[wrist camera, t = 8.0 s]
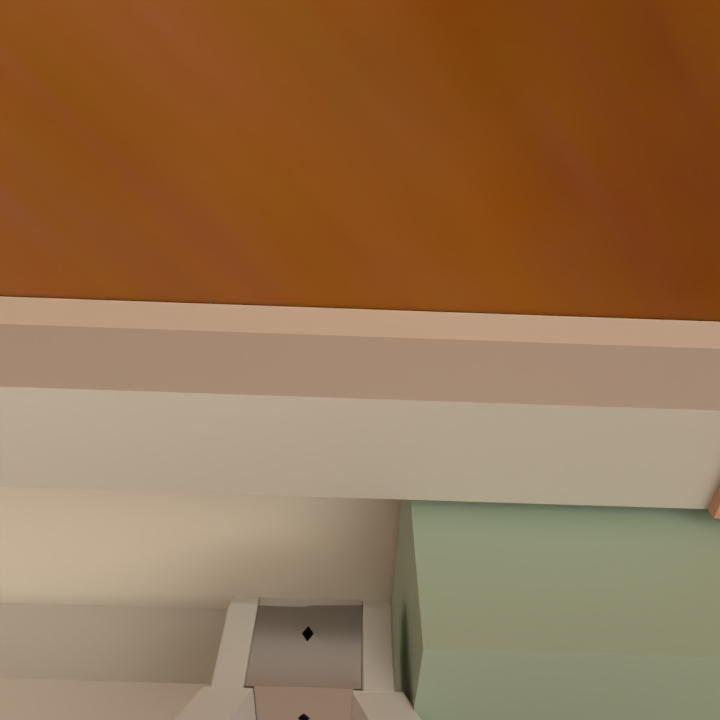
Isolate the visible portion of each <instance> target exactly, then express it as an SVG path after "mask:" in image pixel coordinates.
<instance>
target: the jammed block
mask: <svg viewBox="0 0 720 720" xmlns="http://www.w3.org/2000/svg"><path fill="white" fill-rule="evenodd" d="M391 610H392V633H393V655H394V677H395V691H398V692H404V693H405V695H406V696H407V698H408V700H409V701H410V703H411V704H412V706H413V709H414V711H416V712H417V713H418V715H419V716H420V718H421V719H422V720H720V519H717V518H713V517H712V515H711V514H710V512H709V511H708V509H687V508H655V507H624V506H592V505H561V504H529V503H497V502H466V501H434V500H402V499H401V507H400V517H399V528H398V538H397V548H396V558H395V568H394V578H393V588H392V598H391Z"/></svg>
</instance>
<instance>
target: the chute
mask: <svg viewBox="0 0 720 720" xmlns="http://www.w3.org/2000/svg"><path fill="white" fill-rule="evenodd" d="M401 499H402V500H434V501H466V502H497V503H529V504H561V505H592V506H624V507H655V508H687V509H708V511H709V512H710V514H711V515H712V517H713V518H717V519H720V322H713V321H685V320H656V319H628V318H599V317H571V316H543V315H514V314H486V313H457V312H429V311H400V310H372V309H343V308H315V307H286V306H258V305H229V304H201V303H173V302H144V301H116V300H87V299H59V298H30V297H2V296H0V720H173V719H174V718H175V717H176V716H177V715H178V714H179V712H180V711H181V710H182V709H183V708H184V707H185V706H186V704H187V703H188V702H189V701H190V700H191V699H192V698H193V696H194V695H195V694H196V693H197V692H198V691H199V690H200V688H201V687H203V686H211V682H212V678H213V673H214V669H215V664H216V660H217V655H218V650H219V646H220V641H221V637H222V632H223V628H224V623H225V618H226V614H227V609H228V605H229V603H230V601H231V598H232V596H239V597H263V598H286V599H361V600H362V601H363V600H369V601H390V604H391V598H392V588H393V578H394V568H395V558H396V548H397V538H398V528H399V517H400V507H401Z"/></svg>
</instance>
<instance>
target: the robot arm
mask: <svg viewBox="0 0 720 720" xmlns="http://www.w3.org/2000/svg"><path fill="white" fill-rule="evenodd" d="M173 720H422V719H421V718H420V716H419V715H418V713H417V712H416V711H414V709H413V706H412V704H411V703H410V701H409V700H408V698H407V696H406V695H405V693H404V692H398V691H395V677H394V655H393V633H392V610H391V604H390V601H369V600H363V601H362V600H361V599H286V598H263V597H239V596H232V598H231V601H230V603H229V605H228V609H227V614H226V618H225V623H224V628H223V632H222V637H221V641H220V646H219V650H218V655H217V660H216V664H215V669H214V673H213V678H212V682H211V686H203V687H201V688H200V690H199V691H198V692H197V693H196V694H195V695H194V696H193V698H192V699H191V700H190V701H189V702H188V703H187V704H186V706H185V707H184V708H183V709H182V710H181V711H180V712H179V714H178V715H177V716H176V717H175V718H174V719H173Z"/></svg>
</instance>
